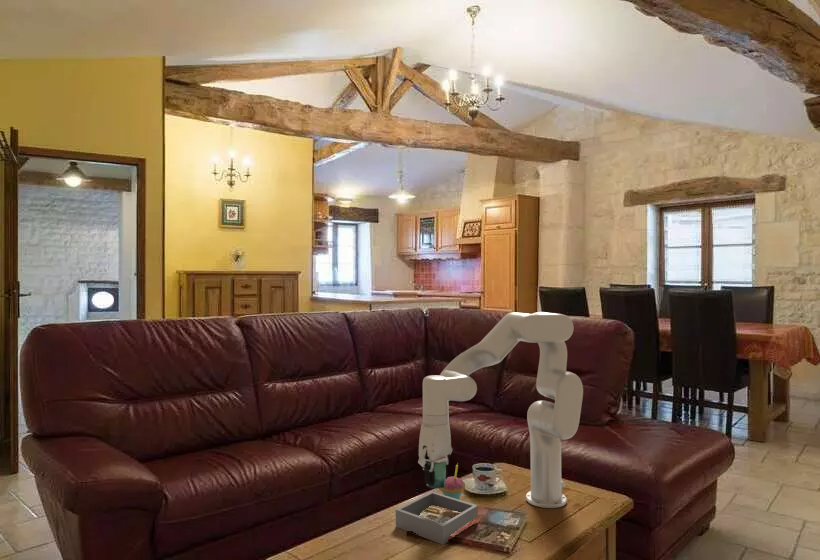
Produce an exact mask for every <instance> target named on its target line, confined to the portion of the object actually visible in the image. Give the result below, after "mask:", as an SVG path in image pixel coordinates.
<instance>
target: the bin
mask: <svg viewBox="0 0 820 560" xmlns="http://www.w3.org/2000/svg"><path fill="white" fill-rule="evenodd" d="M431 505H435V506H439V507H443V508H447V509H450V510H454V511H458V512H461V513H460V514H458V515H456V516H455V517H453V518H451V519H450V520H448V521H446V522H445V523H443V524H441V523H438V522H435V521H432V520H429V519H427V518H424V517H421V516H419V515H420V513H421V512H422V511H423V510H425V509H426V508H428V507H429V506H431ZM478 506H479V505H477V504H475V503H470V502H467V501H465V500H461V499H459V500H458V499H455V498H452V497H449V496H445V495H443V493H439V492H435V491H430V492H428V493H426V494H424V495H421V496H420V497H418V498H416V499H414V500H412V501H410V502H408V503H406V504H403V505H401V506H399V507H397V508H396V509H395V527H396V528H398V529H401V530H403V531H405V532H408V531H413V532H414V533H416V534H415V535H416V536H420V537H422V538H424V539H426V540H427V539H428V540H430V541H432V542H435V543H438V544H441V545H442V546H443V545H445V544H447V543H448V542H449V541H448V538H449V536H450V535H451V534H452V533H454V532H455V531H457V530H458V529H459V528H460V527H462V526H463V525H465V524H466V523H468V522H469V521H471V520H473V519H474V518H476V517H478V518H479V515H478V512H479V511H478V510H479V509H478V508H479V507H478ZM414 533H413V534H414ZM417 534H418V535H417Z"/></svg>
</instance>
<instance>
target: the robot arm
mask: <svg viewBox="0 0 820 560" xmlns="http://www.w3.org/2000/svg"><path fill="white" fill-rule="evenodd" d="M574 327H575V326H574V323H573V320H572V319H571V318H570V317H569V316H568V315H566V314H562V313H555V312H547V311H546V312H545V311H538V312H533V313H526V312H516V311H514V312H508V313H507V314H505V315H504V316H503V317H502V318H501V319H500V320H499V321H498V322H497V323H496V324H495V326H493V327H492V329H491V330H490V331H489V332H488V333H487V334H486V335H485V336H484V337H483V338H482V339H481V341H479V342H478V343H476V344H475V345H473V346H471V347H470V348H468V349H466V350H464V351H463V352H460V354H458V355H457V356H456V357H455V358H454V359H452V360H451V361H450V362H449V363H448V364H447V365H446V367H444V368H443V370H442V371H441V372H440V374H439V375H436V374H434V375H433V374H432V375H427V376H425V377H424V378H423V379H422V424H421V425H420V432H419V438H418V439H419V440H418V461H417V463H418V464H419V465H420V467H422V470H423V471H424V473H423V474H424V475H423V476H424V480H423V481H424V484H425V485H427V484H429V485H432V486H433V485H434V471H433V467H434V461H436V460H438V459H440V458H443V457H445V456H446V479H447V477H448V465H449V460H450V458H451V454H452V452H453V451H454V448H453V447H452V437H451V427H450V423H449V422H450V421H449V420H450V419H449V417H450V416H449V415H450V414H449V411H450V410H449V409H450V408H449V407H450V406H449V402H450V401H456V402H466V401H470V400H471V399H473V398H474V397H475V396H476V394H477V391H478V387H477V383H476V381H475V379H473V378H472V377H471V376H470V375H472V373H474V372H476V371H477V370H480V369H482V368H488V367H490V366H494V365H497V364H500V363H501V362H502V361H503V360H504V358H506V357H507V355H508V354H509V353H510V352H511V351H512V350H513V348H515V346H516V345H517V344H518V343H520V342H525V343H533V344H535V343H536V344H538V347H539V361H538V369H537V375H536V382H535V383H536V384H535V387H536V390H537V392H538V394H540V395H541V396H544V397H545V398H548V399H552V400H554V403H553V402H552V401H548V400H537V401H534V402H533V403H532V404H530V406H529V407H528V410H527V413H526V414H527V415H526V418H527V421H526V422H527V426H528V427H527V428H528V431H529V438H530V439H529V441H530V451H529V452H530V454H529V455H530V491H528V492H526V495H525V500H526V501H527V502H528V503H529V504H530V505H532V506H535V507H539V508H544V509H557V508H558V509H559V508H562V507H564V506H565V505H567V499H568V498H567V496H566V495H565V494H563V493H562V490H563V488H564V487H565V486H566V483H565V481H563V480H562V443H561V440H569V439H571V438H573V437H574V436H575V434H576V433H577V431H578V428H579V424H580V418H581V413H582V405H583V404H582V403H583V397H584V387H583V382H582V380H581V378H580V376H578V375H577V374H576V373H573V372H571V371H567V366H568V365H567V364H568V363H567V362H568V348H567V344H566V342H565V341H568V340H569V339H570V338H571V336H572V335H573V333H574ZM428 457H429V459H428ZM428 462H430V466H429V465H428Z"/></svg>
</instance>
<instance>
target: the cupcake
mask: <svg viewBox="0 0 820 560" xmlns="http://www.w3.org/2000/svg"><path fill="white" fill-rule="evenodd" d="M458 464H459V463H458V462H457V464H456V465H455V471H454V476H447V479H446V486H445V487H443V488H438V489H439V490H440V492H442V493H441V494H442V495H445V496H449V497H452V498H455V499H458V500H461V499H460V498H461V495H462V493H463V492H464V491H465V489H466V484H465V482H464V481H463V480H462V479H461V478H459V477H457V476H458V475H457V474H458V469H459V465H458Z"/></svg>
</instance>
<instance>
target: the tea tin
mask: <svg viewBox="0 0 820 560" xmlns="http://www.w3.org/2000/svg"><path fill="white" fill-rule="evenodd" d="M428 459H429V457H428ZM428 465H429V466H430V462H428ZM433 471H434V485H433V486H432V485H429V484H426V486H427V487H428V488H430V489H439V488H443V487H445V486H446V456H445V457H443V458H440V459H438V460H436V461H434V467H433Z"/></svg>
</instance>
